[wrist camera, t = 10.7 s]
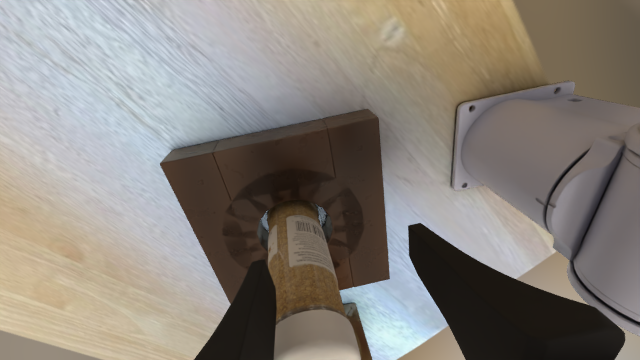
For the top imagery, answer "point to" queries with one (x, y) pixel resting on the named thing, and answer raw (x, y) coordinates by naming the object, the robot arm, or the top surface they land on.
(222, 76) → the top surface
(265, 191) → the holder
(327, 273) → the sprinkles bottle
